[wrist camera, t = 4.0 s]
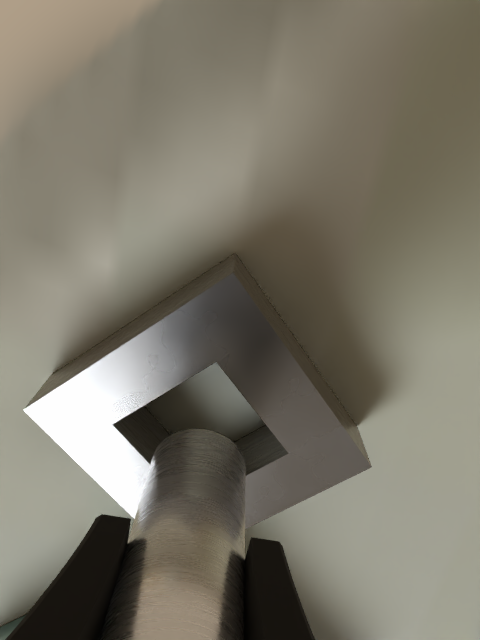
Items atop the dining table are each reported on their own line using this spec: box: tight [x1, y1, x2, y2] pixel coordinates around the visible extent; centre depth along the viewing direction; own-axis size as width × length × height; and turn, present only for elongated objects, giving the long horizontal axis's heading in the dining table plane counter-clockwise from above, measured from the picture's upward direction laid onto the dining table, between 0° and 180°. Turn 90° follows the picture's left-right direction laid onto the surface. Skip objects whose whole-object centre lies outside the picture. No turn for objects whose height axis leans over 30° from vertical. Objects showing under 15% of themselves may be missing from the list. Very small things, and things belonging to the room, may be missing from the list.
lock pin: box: [99, 429, 246, 640], centre depth 9 cm, size 3×3×8 cm
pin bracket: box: [24, 253, 372, 529], centre depth 15 cm, size 8×8×2 cm
